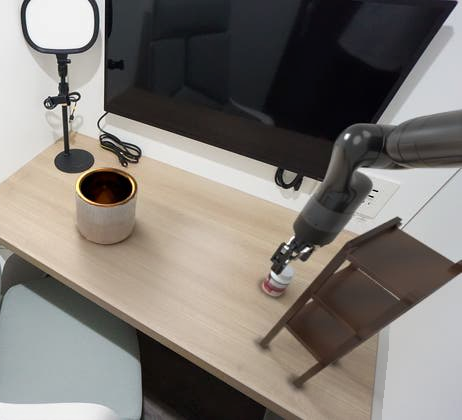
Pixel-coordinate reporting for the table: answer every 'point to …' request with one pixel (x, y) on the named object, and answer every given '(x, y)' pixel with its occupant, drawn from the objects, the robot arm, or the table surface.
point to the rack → (363, 293)
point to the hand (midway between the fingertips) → (288, 265)
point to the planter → (105, 204)
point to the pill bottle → (278, 281)
